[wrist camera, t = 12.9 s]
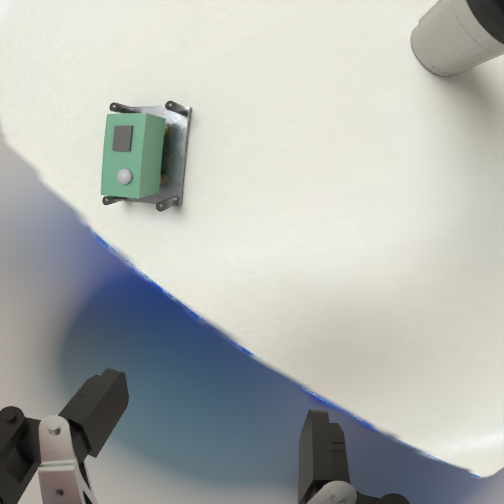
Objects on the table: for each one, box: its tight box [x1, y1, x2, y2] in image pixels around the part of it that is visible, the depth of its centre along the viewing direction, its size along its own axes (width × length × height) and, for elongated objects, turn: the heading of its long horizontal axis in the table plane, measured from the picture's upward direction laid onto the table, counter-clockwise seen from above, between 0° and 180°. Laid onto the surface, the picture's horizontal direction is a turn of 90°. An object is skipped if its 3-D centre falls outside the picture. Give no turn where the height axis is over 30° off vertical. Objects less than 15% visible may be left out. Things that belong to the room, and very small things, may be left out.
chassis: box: [103, 101, 191, 211], centre depth 39 cm, size 14×10×6 cm
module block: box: [101, 113, 166, 199], centre depth 35 cm, size 10×6×7 cm, turn 173°
